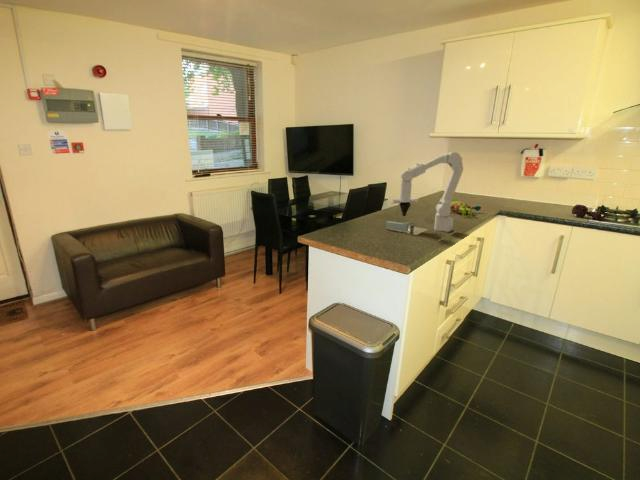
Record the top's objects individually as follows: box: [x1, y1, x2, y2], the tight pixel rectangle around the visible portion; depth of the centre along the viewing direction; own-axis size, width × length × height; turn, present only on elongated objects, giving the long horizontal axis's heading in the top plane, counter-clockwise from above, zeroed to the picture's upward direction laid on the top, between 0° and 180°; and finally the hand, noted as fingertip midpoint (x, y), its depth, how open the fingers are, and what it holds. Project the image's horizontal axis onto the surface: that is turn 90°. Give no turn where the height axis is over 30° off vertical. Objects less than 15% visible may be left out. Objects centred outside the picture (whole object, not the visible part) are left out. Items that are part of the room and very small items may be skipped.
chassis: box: [388, 225, 429, 236], centre depth 193 cm, size 18×15×5 cm
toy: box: [450, 200, 482, 218], centre depth 239 cm, size 24×28×8 cm
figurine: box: [571, 204, 607, 222], centre depth 223 cm, size 10×8×18 cm
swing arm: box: [385, 220, 417, 231], centre depth 189 cm, size 16×4×4 cm, turn 58°
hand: (403, 215), depth 193 cm, fingers closed
